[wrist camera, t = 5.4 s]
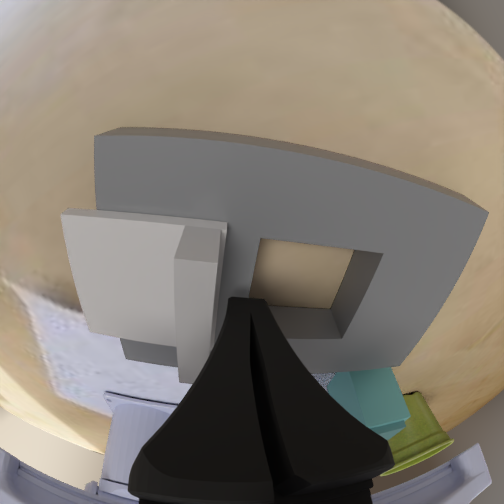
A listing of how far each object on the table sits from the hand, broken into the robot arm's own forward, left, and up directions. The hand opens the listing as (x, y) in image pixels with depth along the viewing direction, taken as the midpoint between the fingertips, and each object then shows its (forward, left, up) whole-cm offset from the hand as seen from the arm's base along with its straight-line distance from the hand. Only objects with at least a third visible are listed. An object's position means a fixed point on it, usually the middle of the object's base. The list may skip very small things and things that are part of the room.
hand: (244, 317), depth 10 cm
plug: (-10, -11, -4) cm, 15 cm away
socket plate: (0, -3, -4) cm, 5 cm away
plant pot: (-19, -22, -4) cm, 29 cm away
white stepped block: (0, +4, -1) cm, 4 cm away
